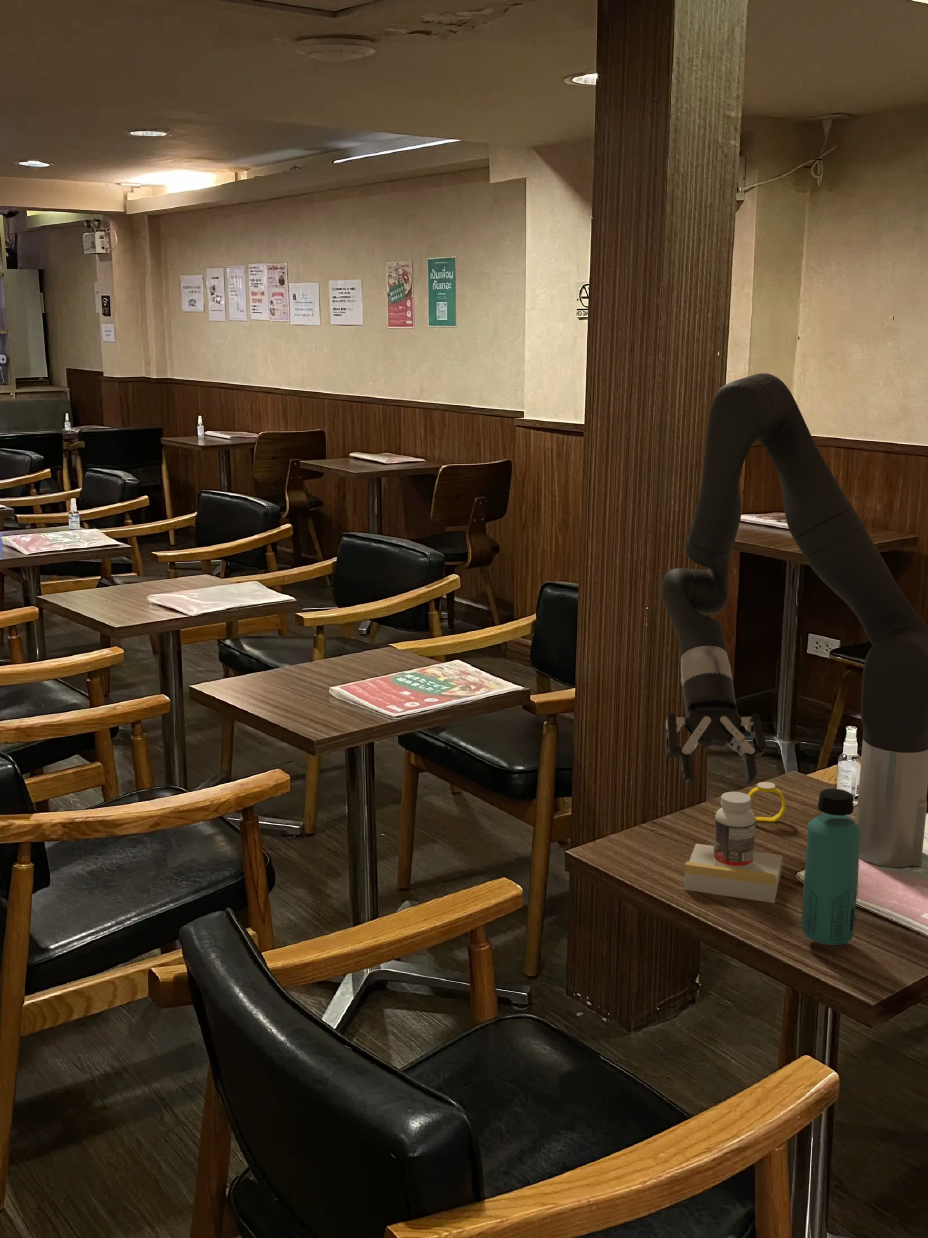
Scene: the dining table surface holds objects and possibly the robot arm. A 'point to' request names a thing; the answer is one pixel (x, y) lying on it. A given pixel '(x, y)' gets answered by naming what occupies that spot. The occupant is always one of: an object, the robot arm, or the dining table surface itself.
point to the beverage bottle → (831, 871)
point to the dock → (733, 876)
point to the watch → (769, 788)
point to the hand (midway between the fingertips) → (720, 781)
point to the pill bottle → (734, 832)
